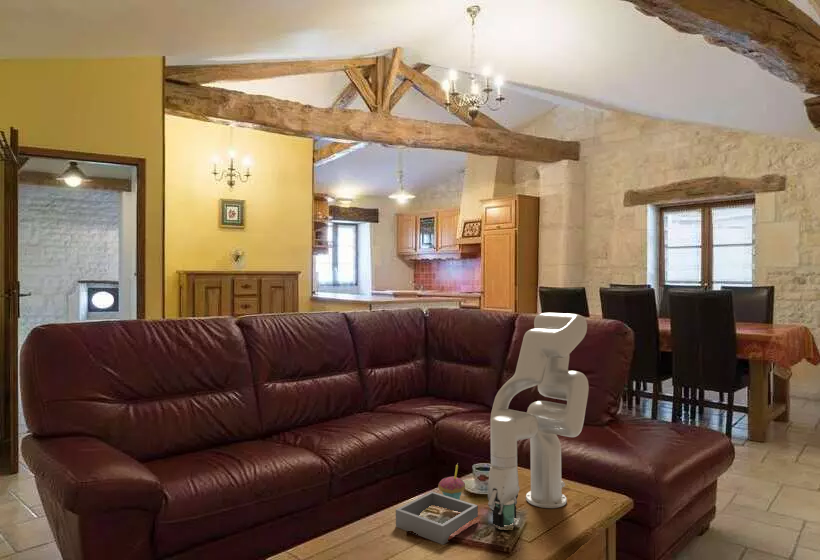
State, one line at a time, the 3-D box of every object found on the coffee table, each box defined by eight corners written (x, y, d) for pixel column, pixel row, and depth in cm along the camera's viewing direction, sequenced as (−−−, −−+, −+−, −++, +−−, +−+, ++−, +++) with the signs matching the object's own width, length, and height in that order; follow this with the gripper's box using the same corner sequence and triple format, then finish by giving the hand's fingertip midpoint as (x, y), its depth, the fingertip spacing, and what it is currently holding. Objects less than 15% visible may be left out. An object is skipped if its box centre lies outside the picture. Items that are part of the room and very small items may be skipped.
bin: (431, 507, 176) (431, 491, 175) (477, 522, 165) (477, 505, 165) (395, 526, 163) (395, 509, 162) (443, 544, 152) (442, 526, 152)
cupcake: (465, 494, 185) (464, 458, 185) (465, 505, 176) (464, 467, 176) (439, 494, 186) (438, 458, 186) (437, 504, 177) (437, 467, 177)
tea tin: (501, 520, 166) (500, 493, 166) (518, 526, 162) (518, 498, 162) (490, 527, 161) (490, 499, 161) (508, 533, 158) (508, 505, 158)
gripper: (507, 450, 170) (508, 508, 171) (476, 465, 157) (477, 529, 158) (530, 455, 166) (530, 515, 166) (499, 471, 152) (500, 537, 153)
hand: (504, 521), depth 162 cm, fingers open, 6 cm apart
